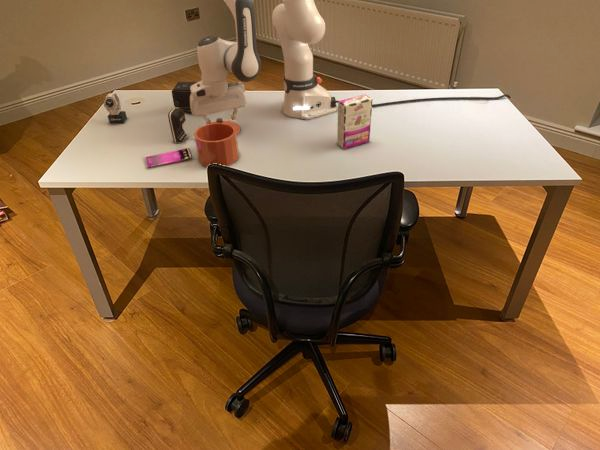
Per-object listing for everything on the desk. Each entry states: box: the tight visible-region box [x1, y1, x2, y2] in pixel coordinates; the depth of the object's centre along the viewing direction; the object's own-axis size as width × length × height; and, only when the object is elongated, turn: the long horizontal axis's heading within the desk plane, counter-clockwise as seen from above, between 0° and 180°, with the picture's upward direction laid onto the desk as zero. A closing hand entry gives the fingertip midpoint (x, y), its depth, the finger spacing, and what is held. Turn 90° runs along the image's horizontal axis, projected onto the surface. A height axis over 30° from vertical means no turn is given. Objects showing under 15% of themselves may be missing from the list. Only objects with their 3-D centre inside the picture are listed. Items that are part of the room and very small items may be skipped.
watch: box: [102, 92, 128, 124], centre depth 171 cm, size 6×8×11 cm
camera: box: [171, 81, 198, 113], centre depth 177 cm, size 11×11×15 cm
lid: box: [211, 117, 241, 136], centre depth 164 cm, size 15×15×5 cm
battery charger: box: [167, 107, 187, 144], centre depth 158 cm, size 7×4×11 cm, turn 171°
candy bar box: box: [336, 94, 373, 150], centre depth 152 cm, size 11×5×16 cm, turn 117°
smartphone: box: [145, 147, 193, 169], centre depth 150 cm, size 7×15×1 cm, turn 111°
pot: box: [193, 122, 240, 167], centre depth 148 cm, size 14×14×10 cm
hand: (221, 121), depth 163 cm, fingers open, 8 cm apart
